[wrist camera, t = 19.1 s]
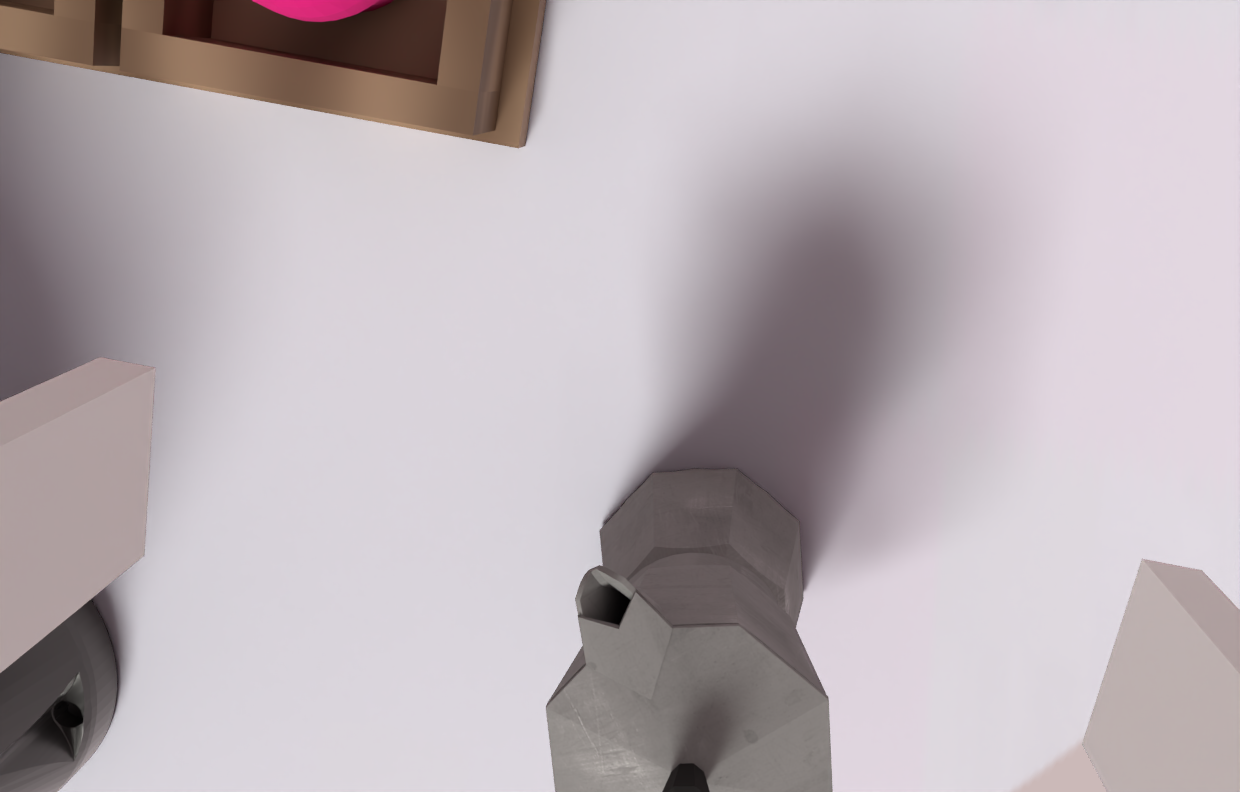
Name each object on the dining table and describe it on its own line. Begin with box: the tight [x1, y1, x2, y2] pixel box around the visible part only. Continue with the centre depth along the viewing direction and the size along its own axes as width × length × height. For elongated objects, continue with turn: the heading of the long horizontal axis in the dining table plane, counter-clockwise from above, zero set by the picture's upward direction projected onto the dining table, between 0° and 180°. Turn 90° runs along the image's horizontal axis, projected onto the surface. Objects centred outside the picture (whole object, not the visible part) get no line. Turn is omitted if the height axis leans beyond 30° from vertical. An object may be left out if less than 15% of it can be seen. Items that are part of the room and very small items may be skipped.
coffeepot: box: [546, 468, 832, 792], centre depth 42 cm, size 15×9×18 cm, turn 27°
